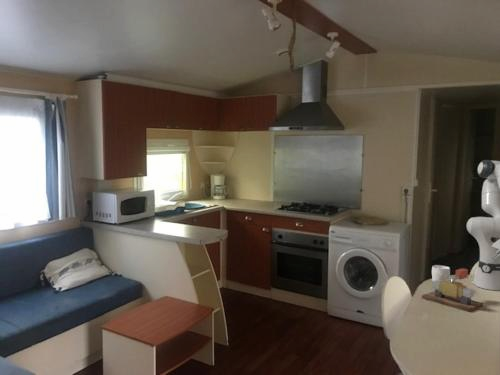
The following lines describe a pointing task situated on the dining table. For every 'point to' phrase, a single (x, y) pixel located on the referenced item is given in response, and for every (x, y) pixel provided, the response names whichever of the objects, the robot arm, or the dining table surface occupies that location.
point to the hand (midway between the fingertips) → (495, 258)
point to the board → (452, 302)
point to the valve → (453, 290)
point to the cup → (440, 273)
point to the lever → (460, 274)
